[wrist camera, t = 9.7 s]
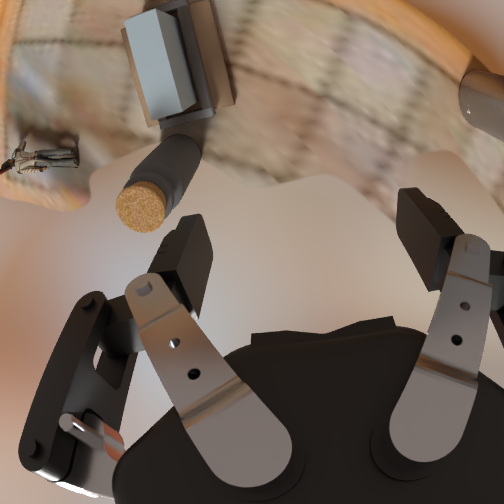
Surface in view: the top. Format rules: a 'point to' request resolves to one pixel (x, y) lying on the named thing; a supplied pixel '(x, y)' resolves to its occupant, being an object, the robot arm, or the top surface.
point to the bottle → (158, 183)
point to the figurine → (38, 159)
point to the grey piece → (193, 63)
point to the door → (161, 63)
